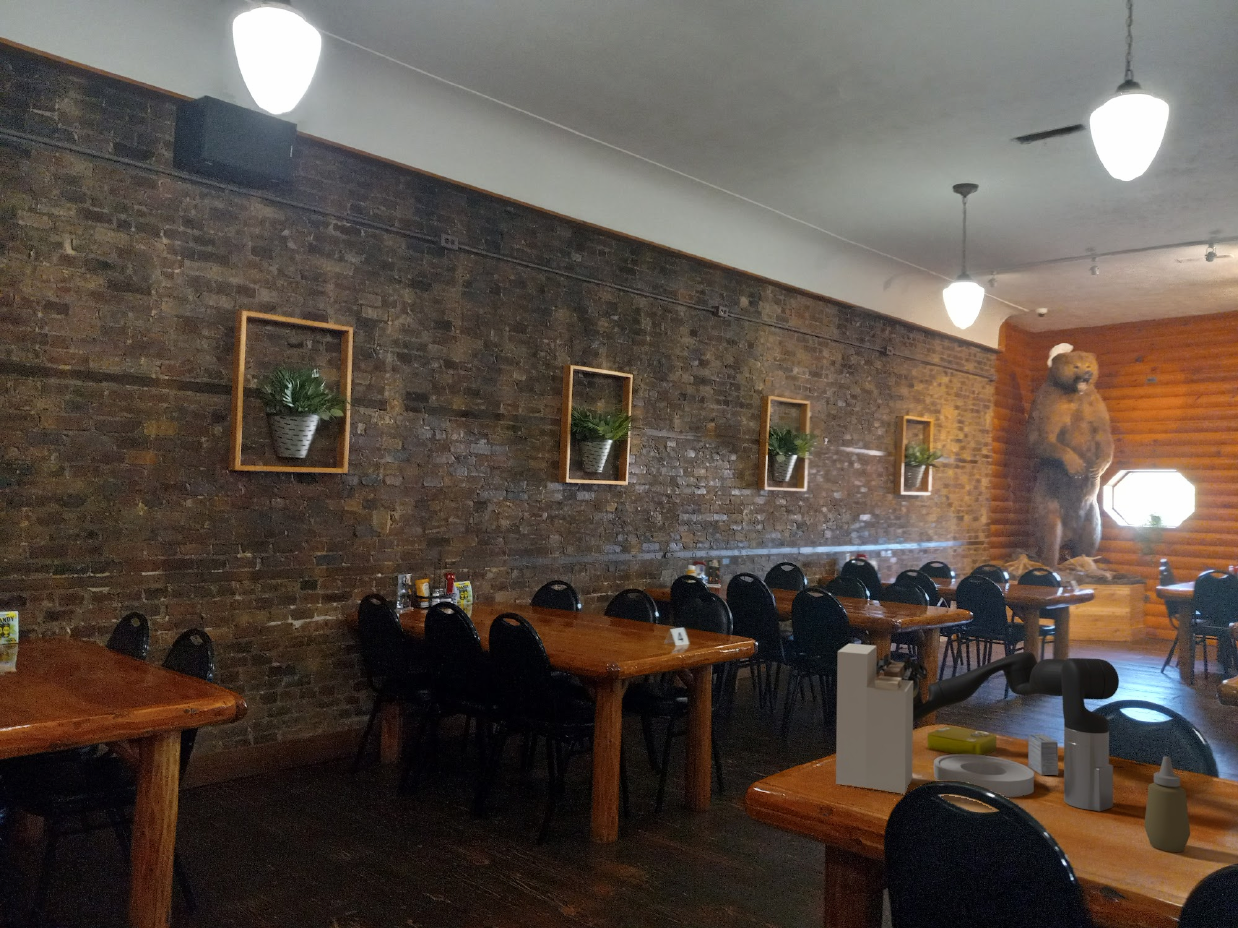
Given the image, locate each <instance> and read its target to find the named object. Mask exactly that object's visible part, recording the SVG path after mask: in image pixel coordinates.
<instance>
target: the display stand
mask: <svg viewBox="0 0 1238 928" xmlns="http://www.w3.org/2000/svg"><path fill="white" fill-rule="evenodd" d="M877 653H878V651H877V645H873V644H871V645H870V644H859V643H848V644H846V645H844V646H843V647H841V648H840V649H838V650H837V659H836V660H837V661H836V662H837V663H836V664H837V665H836V667H837V669H836V670H837V671H836V673H837V674H836V675H837V676H836V677H837V679H836V681H837V682H836V688H837V689H836V743H835V744H836V748H835V749H836V754H835V755H836V758H835V759H836V761H835V785H836V784H842V785H852V786H857V787H865V788H873V789H878V790H885V791H889V792H897V793H901V794H900V795H902V793H903V796H905V795H906V794H905V793H907V791H908V789H909V787H908V785H909V784H910V785H911V782H912V780H913V761H914V760H913V759H914V758H913V756H914V755H913V753H914V751H913V750H914V749H913V746H914V745H913V743H914V740H913V739H914V722H913V681H908V680H902V685H901V687H900V688H899V689H898V691H891V690H882V689H875V680H876V679H877V678H878V677H877V675H876V662H877V660H878V659H877ZM911 779H912V780H911ZM910 781H911V782H910ZM910 785H909V786H910ZM907 788H908V789H907Z"/></svg>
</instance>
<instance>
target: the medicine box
mask: <svg viewBox="0 0 1238 928" xmlns="http://www.w3.org/2000/svg"><path fill="white" fill-rule="evenodd" d="M1027 737H1028V738H1027V740H1028V741H1027V744H1028V746H1027V747H1028V749H1027V750H1028V752H1027V753H1028V758H1027V759H1028V760H1027V761H1028V764H1027V767H1029V768H1030V769H1032V770H1033V772H1036V773H1038V774H1039V775H1041V776H1044V775H1057V776H1059V751H1058V750H1059V749H1058V744H1059V743H1058V741H1057V740H1055V739H1054V738H1051V737H1049V736H1047V735H1045V734H1040V733H1037V734H1036V733H1033V734H1032V733H1030V734H1028V736H1027Z"/></svg>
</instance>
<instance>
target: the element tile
mask: <svg viewBox="0 0 1238 928" xmlns="http://www.w3.org/2000/svg"><path fill="white" fill-rule="evenodd" d="M927 748H928V749H930V750H933V751H940V752H945V753H949V754H952V755H954V754H972V755H983V756H987V755H988V754H990V753H992V752H995V751H997V735H996V734H995V733H991V732H986V731H982V730H981V731H979V730H974V729H969V728H964V727H958V726H952V725H947V726H943V727H940V728H938V729H935V730H932V731H931V732H928V733H927Z"/></svg>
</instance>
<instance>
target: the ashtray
mask: <svg viewBox="0 0 1238 928" xmlns="http://www.w3.org/2000/svg"><path fill="white" fill-rule="evenodd" d="M934 777H935V778H936V779H937V780H956V781H961V782H969V783H970V784H974V785H979V786H981V787H985V788H988V789H990V790H992V791H993V792H997V793H1001V795H1004V796H1006V797H1005V798H1017V797H1023V795H1024V796H1028V795H1030V794H1032V793H1034V791H1035V788H1034V787H1035V783H1034V782H1035V778H1036V777H1035V771H1034V770H1033V769H1031V768H1030V767H1029V766H1028V765H1024V764H1022V763H1019V762H1017V761H1013V760H1010V759H1005V758H1001V757H996V756H990V755H984V756H983V755H972V754H947V755H941V756H938V757H936V758H935V759H934V760H933V778H934Z"/></svg>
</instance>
